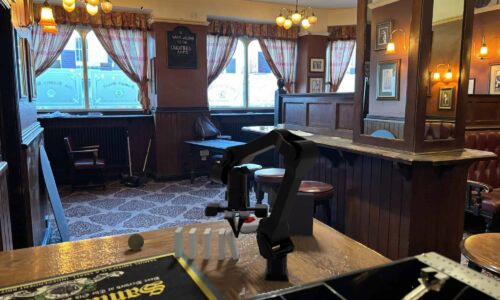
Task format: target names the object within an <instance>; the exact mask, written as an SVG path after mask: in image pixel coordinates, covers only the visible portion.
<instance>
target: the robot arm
mask: <svg viewBox="0 0 500 300" xmlns="http://www.w3.org/2000/svg"><path fill="white" fill-rule="evenodd" d="M274 148H276V151H277V152H278V154H280V155H281V156H282V157H283V158H282V163H283V167H284V174H283V176H282V179H281V181H280V185H279V187H278V190H277V194H276V196H275V199H274V202H273V206H272V208H271V211H270V214H269V205H268V204H265V203H255V205H254V206H248V196H247V195H248V194H247V192H248V191H247V189H248V188H247V186H248V184H247V182H248V181H247V178H248V176H247V175H252V173H253V172H252V170H251V169H250V168H248V166H247V164H249V163H250V162H252V161H253V160H254V158H255V157H256V156H257V155H260V154H262V153H264V152H267V151H269V150H271V149H274ZM319 157H320V149H319V147H318V144H317V143H316V142H315V141H314V140H311V139H307V137H304V136H301V135H298V134H296V133H293V132H291V131H290V130H288V129H286V128H273V129H271V130H270V131H268V132H267V133H265V134H263V135H260V136H257V138H255V139H253V140H250V141H248V142H246V143H242V144H238V145H237V144H236V145H232V146H231V145H230V146H227V147H225V149H224V153H223V154H222V156H221V158H220V159H219V160H216V161H214V164H213V166H212V167H211V168H210V170H209V179H210V180H211V181H212V182H213V183H217V184H221V185H225V186H227V190H225V192H224V201H225V202H227V206H221V203H220V202H209V203H208V204H207V205H206V206H205V207H204V216H205V217H212V218H213V217H216V216H218V214H220V213H221V214H224V216H223V220H225V221H227V222H228V224H229V226H230V227H231V228H230V229H232V231H233V233H234V236H235V239H238V238H239V237H240V233H241V227H242V225H243V223H244V221H245V220H248V219H249V216H250V214H251V215H252V214H254V216H255V217H256V219H260V221H259V225H258V228H257V229H256V231H255V232H256V234H255V239H256V243H257V244H256V245H257V248H258V252H259V256H261V257H262V259H264V260H266V261H265V262H266V263H265V265H266V266H265V268H264V281H282V282H283V281H285V282H287V281H290V275H289V269H288V254H293V253H294V251H295V250H296V249H295V248H296V244H295V243H294V242H293V240H292V238H291V237H290V235H288V233H289V226H288V222H287V220H288V217H289V215H290V212H291V209H292V207H293V204H294V201H295V199H296V196H297V193H299V190H300V188H301V185H302V182H303V179H304V177H305V176H306V174H307V173H309V172H310V170H312V168H313V167H314V166H315V164H316V163H317V161H318V159H319ZM236 214H239V215H238V217H239V219H238V227H237V226H236V218H237V217H236ZM268 215H269V216H268Z"/></svg>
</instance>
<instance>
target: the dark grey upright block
mask: <svg viewBox="0 0 500 300" xmlns="http://www.w3.org/2000/svg"><path fill="white" fill-rule="evenodd" d="M314 207H315V196H314V192H298V193H297V196H296V199H295V201H294V204H293V207H292V209H291V212H290V215H289V217H288V220H287V222H288V226H289V233H288V235H289V236H303V237H305V236H306V237H307V236H309V237H310V236H311V237H313V236H314V213H315V212H314Z"/></svg>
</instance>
